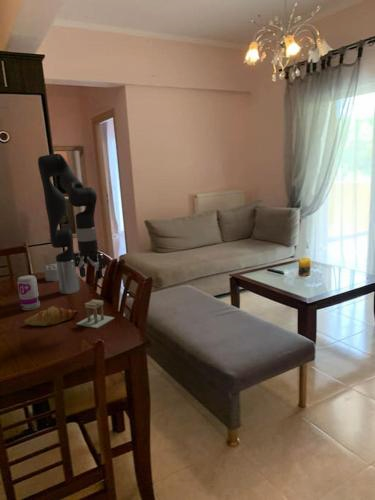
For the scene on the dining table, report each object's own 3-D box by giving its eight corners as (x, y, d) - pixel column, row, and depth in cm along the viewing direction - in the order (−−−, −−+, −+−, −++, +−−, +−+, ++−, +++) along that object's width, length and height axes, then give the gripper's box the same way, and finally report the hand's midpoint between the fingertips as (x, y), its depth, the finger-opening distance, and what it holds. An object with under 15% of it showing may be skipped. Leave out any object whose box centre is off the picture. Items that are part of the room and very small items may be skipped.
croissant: (26, 336, 152) (22, 323, 147) (25, 318, 159) (22, 305, 154) (79, 326, 159) (78, 313, 154) (76, 308, 166) (75, 296, 161)
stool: (95, 317, 158) (93, 299, 156) (104, 319, 156) (103, 300, 154) (86, 321, 154) (84, 303, 152) (96, 323, 151) (94, 305, 150)
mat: (94, 314, 162) (94, 314, 162) (114, 318, 157) (114, 317, 157) (76, 324, 153) (76, 323, 153) (97, 328, 148) (97, 327, 148)
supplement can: (33, 311, 170) (29, 279, 167) (17, 310, 172) (12, 279, 169) (43, 304, 178) (39, 274, 175) (28, 304, 180) (23, 274, 177)
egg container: (63, 275, 231) (61, 261, 230) (64, 280, 220) (62, 266, 218) (45, 277, 228) (43, 263, 226) (45, 282, 216) (43, 268, 214)
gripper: (107, 237, 148) (111, 276, 151) (80, 236, 154) (84, 273, 157) (94, 241, 141) (98, 282, 145) (66, 239, 147) (71, 278, 151)
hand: (91, 277), depth 151 cm, fingers open, 8 cm apart
